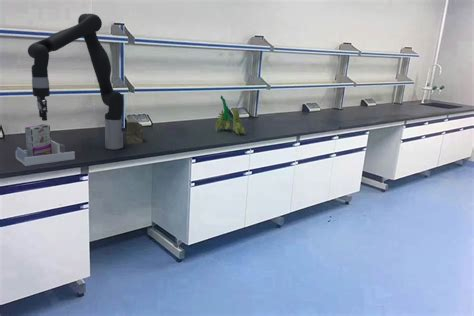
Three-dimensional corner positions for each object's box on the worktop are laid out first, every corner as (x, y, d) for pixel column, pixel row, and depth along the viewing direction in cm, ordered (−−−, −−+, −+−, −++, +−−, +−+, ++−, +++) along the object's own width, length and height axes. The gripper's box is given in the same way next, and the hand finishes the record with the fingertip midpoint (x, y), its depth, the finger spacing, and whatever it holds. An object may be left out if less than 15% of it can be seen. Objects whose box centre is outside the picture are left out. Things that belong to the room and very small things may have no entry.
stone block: (134, 138, 264) (134, 115, 260) (143, 143, 252) (144, 120, 248) (119, 139, 258) (119, 116, 254) (127, 144, 246) (127, 120, 242)
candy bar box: (45, 154, 211) (43, 123, 206) (52, 156, 209) (50, 125, 204) (26, 159, 201) (24, 127, 196) (33, 161, 199) (31, 128, 195)
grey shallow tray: (63, 152, 220) (63, 142, 219) (74, 159, 210) (74, 148, 209) (16, 158, 204) (15, 147, 202) (25, 166, 194) (24, 154, 192)
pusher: (59, 151, 217) (58, 138, 215) (67, 156, 209) (67, 143, 207) (49, 152, 213) (48, 139, 211) (58, 158, 205) (57, 144, 203)
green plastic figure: (248, 133, 298) (247, 93, 288) (234, 139, 286) (232, 97, 276) (223, 128, 314) (220, 90, 304) (208, 133, 302) (205, 94, 292)
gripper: (51, 88, 193) (53, 121, 198) (46, 84, 205) (48, 115, 209) (34, 88, 189) (37, 122, 194) (30, 84, 201) (32, 116, 205)
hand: (43, 118), depth 202 cm, fingers open, 8 cm apart
